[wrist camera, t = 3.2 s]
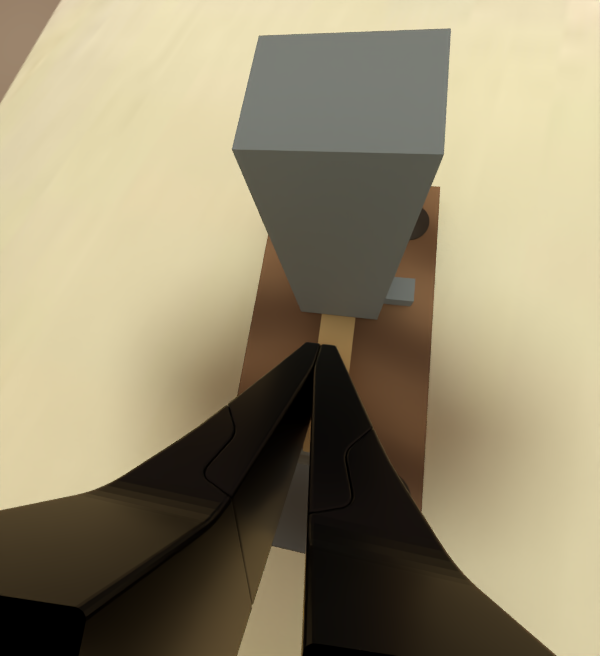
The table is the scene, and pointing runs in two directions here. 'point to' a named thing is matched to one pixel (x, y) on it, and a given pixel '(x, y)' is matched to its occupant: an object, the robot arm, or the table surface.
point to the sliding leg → (344, 158)
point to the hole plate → (357, 362)
